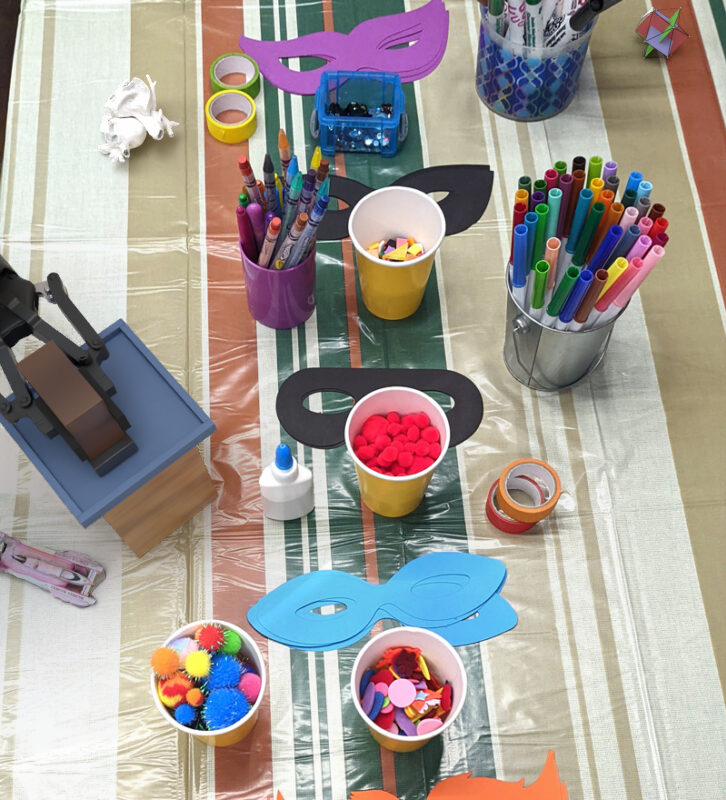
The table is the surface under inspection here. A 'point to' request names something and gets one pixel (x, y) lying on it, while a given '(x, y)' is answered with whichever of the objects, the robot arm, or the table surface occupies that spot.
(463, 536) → the table surface
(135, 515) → the wooden block
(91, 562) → the pink toy racer
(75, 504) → the tray
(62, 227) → the table surface
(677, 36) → the geometric puzzle
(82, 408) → the brown angled block
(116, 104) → the heart
